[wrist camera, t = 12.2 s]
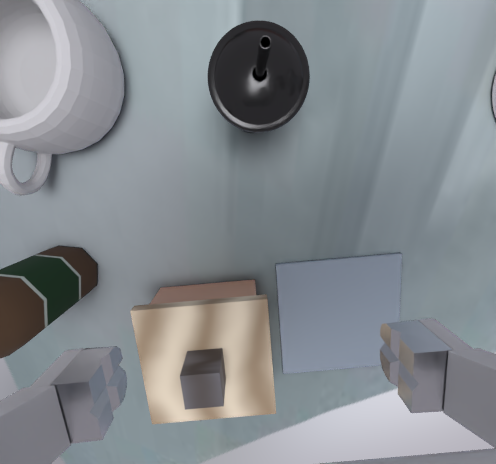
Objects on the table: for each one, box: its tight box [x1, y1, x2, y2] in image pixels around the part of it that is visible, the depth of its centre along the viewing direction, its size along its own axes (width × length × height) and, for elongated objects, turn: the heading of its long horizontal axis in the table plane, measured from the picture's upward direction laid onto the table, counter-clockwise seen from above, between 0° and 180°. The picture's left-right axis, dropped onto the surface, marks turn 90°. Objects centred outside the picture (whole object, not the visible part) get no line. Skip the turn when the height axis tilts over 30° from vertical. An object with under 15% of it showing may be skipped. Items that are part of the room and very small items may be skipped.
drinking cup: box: [208, 21, 310, 133], centre depth 25 cm, size 8×8×20 cm
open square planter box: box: [149, 279, 256, 305], centre depth 37 cm, size 13×13×7 cm
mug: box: [0, 0, 124, 196], centre depth 29 cm, size 21×17×10 cm
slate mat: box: [276, 253, 402, 374], centre depth 41 cm, size 17×17×1 cm
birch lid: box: [130, 294, 276, 424], centre depth 31 cm, size 15×15×5 cm
